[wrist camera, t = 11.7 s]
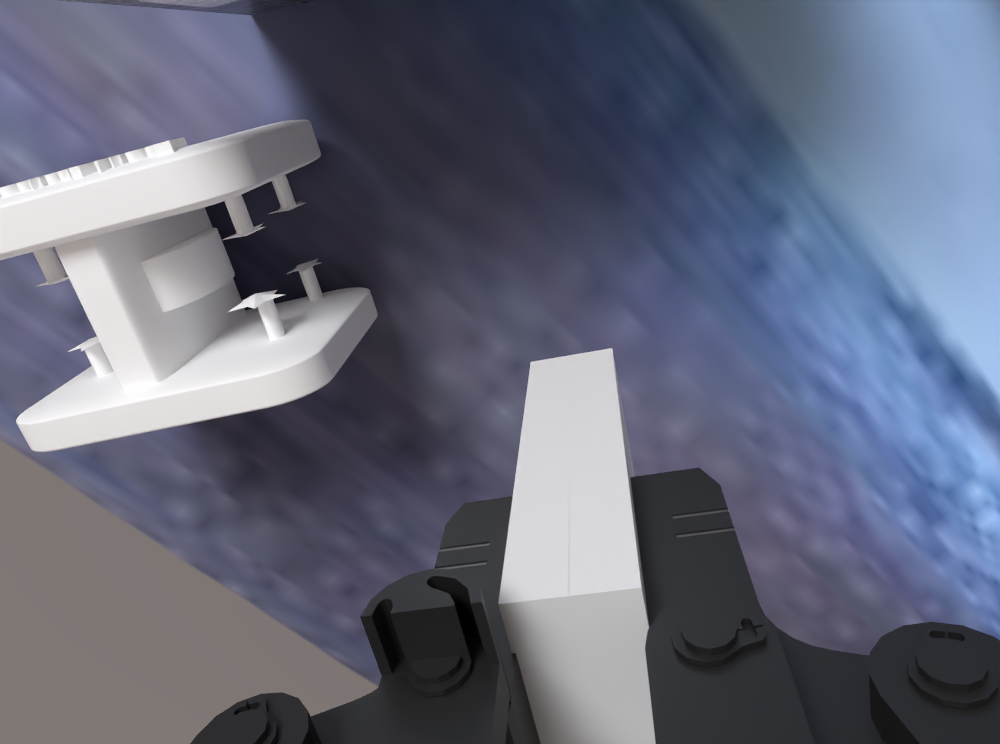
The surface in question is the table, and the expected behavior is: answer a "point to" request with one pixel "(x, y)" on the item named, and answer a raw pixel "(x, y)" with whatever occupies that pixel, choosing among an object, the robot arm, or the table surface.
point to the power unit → (205, 5)
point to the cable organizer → (175, 288)
